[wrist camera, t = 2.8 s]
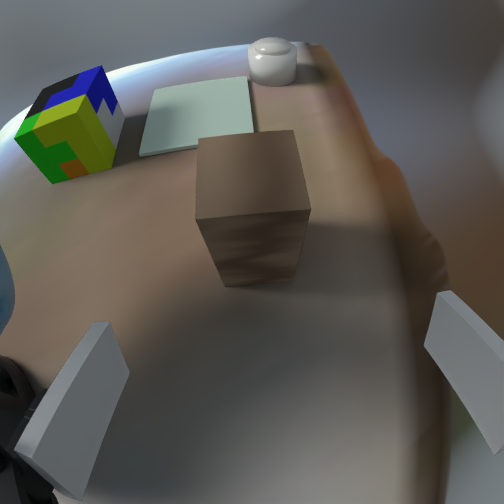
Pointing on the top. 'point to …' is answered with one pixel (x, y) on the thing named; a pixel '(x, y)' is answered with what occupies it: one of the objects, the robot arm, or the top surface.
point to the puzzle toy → (73, 127)
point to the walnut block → (252, 205)
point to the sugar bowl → (272, 62)
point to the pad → (196, 114)
